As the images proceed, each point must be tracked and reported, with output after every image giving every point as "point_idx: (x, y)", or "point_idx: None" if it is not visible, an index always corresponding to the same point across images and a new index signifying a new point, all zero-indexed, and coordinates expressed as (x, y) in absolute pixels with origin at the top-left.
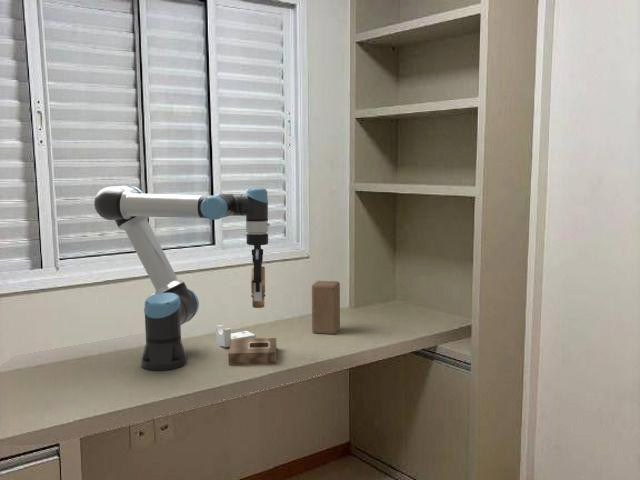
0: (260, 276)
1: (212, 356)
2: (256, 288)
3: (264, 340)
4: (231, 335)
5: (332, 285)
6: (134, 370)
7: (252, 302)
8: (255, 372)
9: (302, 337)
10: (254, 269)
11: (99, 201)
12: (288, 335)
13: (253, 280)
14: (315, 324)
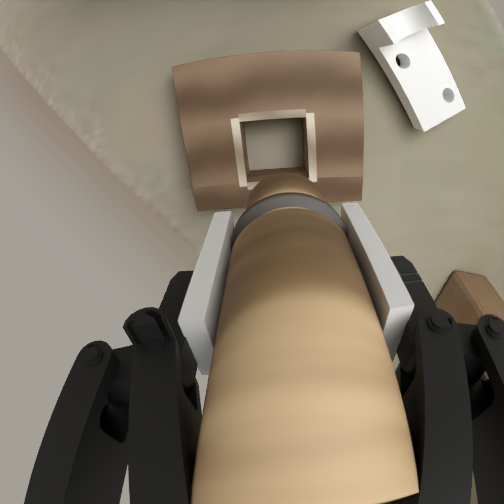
0: (100, 425)
1: (269, 3)
2: (166, 300)
3: (334, 163)
4: (421, 53)
5: None
6: None
7: (275, 184)
8: (131, 157)
9: (434, 249)
10: (42, 467)
11: None
12: (458, 217)
13: (86, 349)
14: (458, 290)
